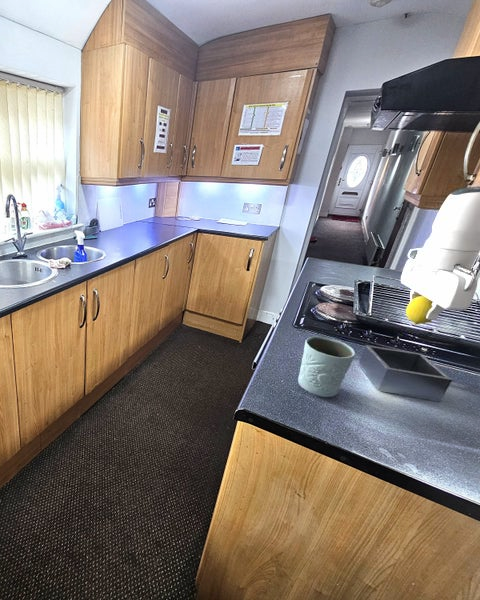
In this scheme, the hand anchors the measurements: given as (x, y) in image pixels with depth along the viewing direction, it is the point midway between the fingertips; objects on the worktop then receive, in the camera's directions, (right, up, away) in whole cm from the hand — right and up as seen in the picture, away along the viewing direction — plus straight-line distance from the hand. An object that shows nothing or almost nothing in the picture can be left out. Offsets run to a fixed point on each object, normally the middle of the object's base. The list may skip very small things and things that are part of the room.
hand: (421, 313), depth 81 cm
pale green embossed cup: (-24, -19, +4) cm, 31 cm away
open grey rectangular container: (-1, -19, +6) cm, 20 cm away
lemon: (0, -3, +1) cm, 3 cm away
